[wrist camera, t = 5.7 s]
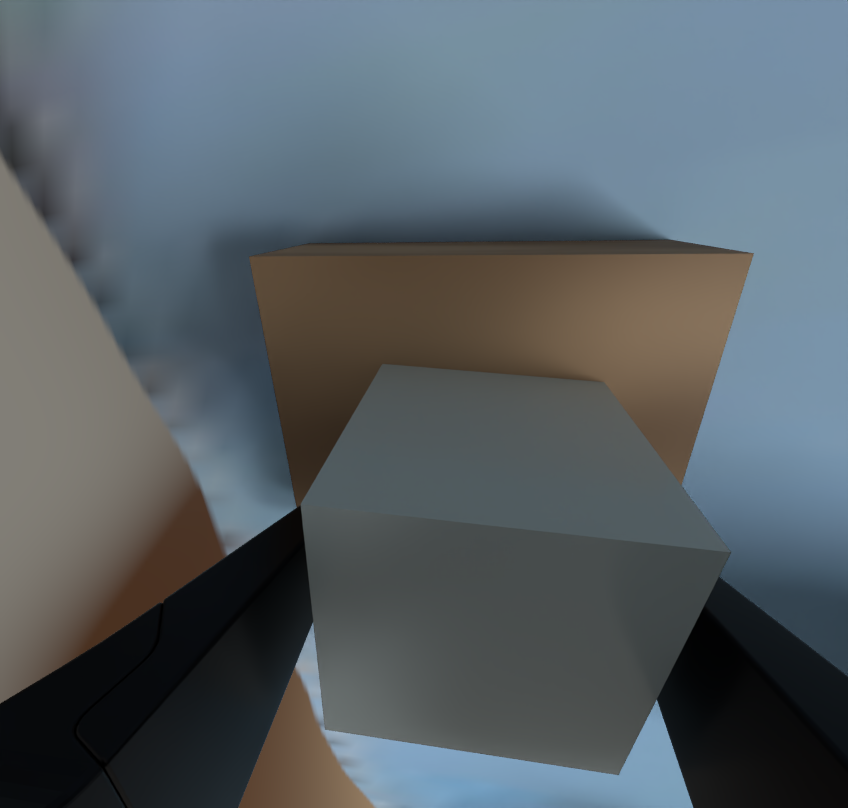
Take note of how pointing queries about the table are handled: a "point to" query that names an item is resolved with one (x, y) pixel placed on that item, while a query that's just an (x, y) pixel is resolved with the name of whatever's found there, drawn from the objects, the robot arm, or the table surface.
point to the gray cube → (500, 568)
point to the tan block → (496, 326)
